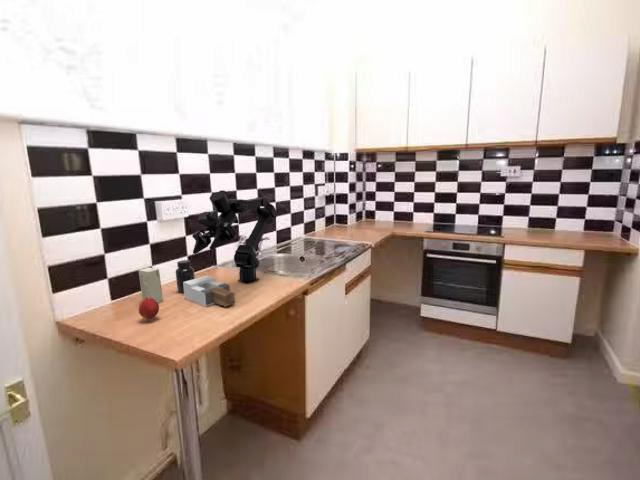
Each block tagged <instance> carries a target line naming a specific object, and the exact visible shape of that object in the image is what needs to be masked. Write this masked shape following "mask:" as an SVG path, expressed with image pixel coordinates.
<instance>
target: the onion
mask: <svg viewBox="0 0 640 480" xmlns="http://www.w3.org/2000/svg"><path fill="white" fill-rule="evenodd" d="M159 311H160V305H159V303H157V302H156V301H155V300H154V299H152V298H150V297H149V296H147V297H146V298H145V299H144V300H143V299H142V301H141V302H140V303H139V306H138V313H139V315H140V316H141V317H142V318H144V319H146V320H148V321H150V320H153V318H154V317H156V316H157V315H158V313H159Z"/></svg>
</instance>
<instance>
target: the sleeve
mask: <svg viewBox="0 0 640 480" xmlns="http://www.w3.org/2000/svg"><path fill="white" fill-rule="evenodd" d="M183 287H184V293H183V295H184V297H183V298H184V299H187V300H189V301H191V302H193V303H196V304H199V305H201V306H204V307H209V306H213V305H216V303H214V302H213V294H212V291H211V289H212V288H215V287H219V288H222V289H225V290H228V291H231V290H230V289H231V287H230V284H229V283H226V282H224V283H222V282H219V281H216V280H215V277H213V276H210V275H209V276H208V275H204V276H201V277H200V276H199V277H197V278H196V277H195V279H193V280H189V281H185V282H183Z"/></svg>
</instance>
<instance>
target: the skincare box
mask: <svg viewBox="0 0 640 480" xmlns="http://www.w3.org/2000/svg"><path fill="white" fill-rule="evenodd" d="M160 274H161V273H160V269H159V268H154V267H145V268H142V269H138V277H139V283H140V285H139V286H140V290H141V298H142V301H143V300H144V299H145V298H146V297H147V296H149V297H150V298H152V299H154V300H155V301H156V302H157V303H158V304H159V303H161V302H164V297H163V296H164V295H163V290H162V289H163V288H162V282H161V275H160Z"/></svg>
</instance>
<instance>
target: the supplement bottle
mask: <svg viewBox="0 0 640 480" xmlns="http://www.w3.org/2000/svg"><path fill="white" fill-rule="evenodd" d="M176 263H177V268H176V269H175V280H176V287H177V289H176V290H177V292H178V293H180V294H184V287H183V282H185V281H189V280H193V279H196V277H195V276H196V275H195V268H194V267H192V266H191V265H192V264H191V260H189V259H184V260H179V261H177V262H176Z"/></svg>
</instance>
